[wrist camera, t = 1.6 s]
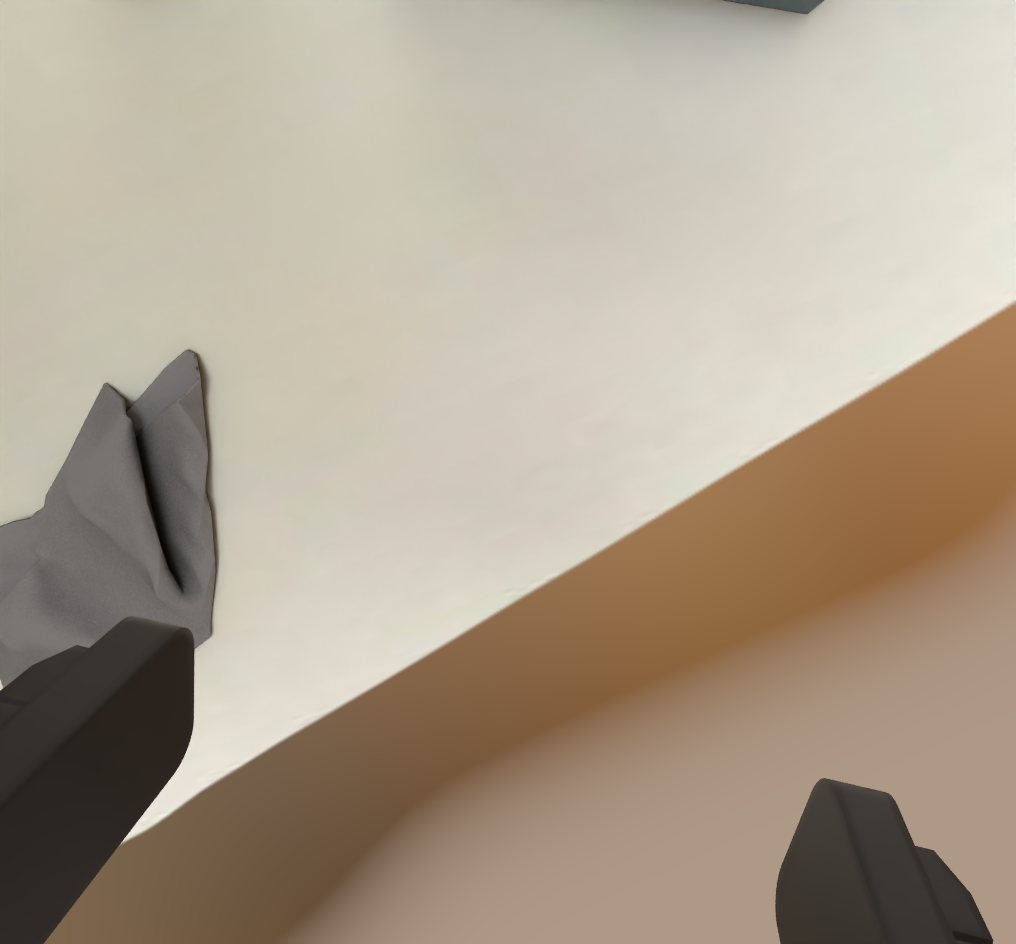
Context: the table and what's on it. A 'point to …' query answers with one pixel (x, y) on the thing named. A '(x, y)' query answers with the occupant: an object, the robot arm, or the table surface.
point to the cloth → (115, 528)
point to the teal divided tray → (784, 4)
